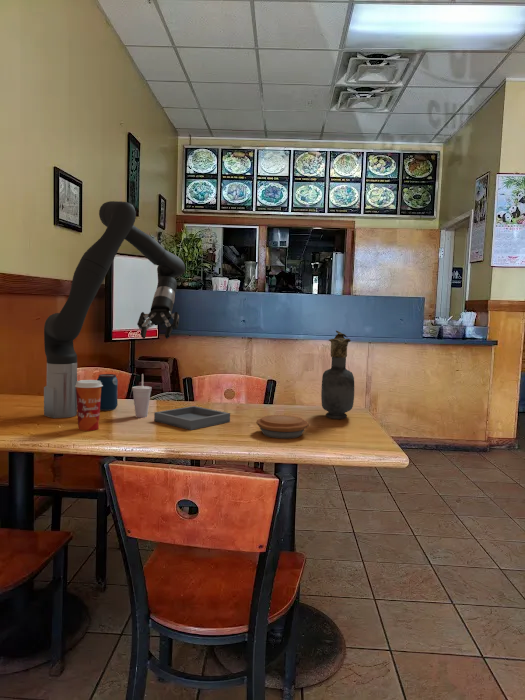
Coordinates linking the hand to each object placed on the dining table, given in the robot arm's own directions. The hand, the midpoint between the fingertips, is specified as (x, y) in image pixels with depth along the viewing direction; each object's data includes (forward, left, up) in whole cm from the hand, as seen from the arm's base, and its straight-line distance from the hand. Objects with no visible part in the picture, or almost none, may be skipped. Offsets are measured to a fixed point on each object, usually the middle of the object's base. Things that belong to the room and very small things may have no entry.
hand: (154, 337), depth 182 cm
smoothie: (-10, -6, -26) cm, 28 cm away
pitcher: (+40, -50, -26) cm, 69 cm away
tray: (-3, -23, -26) cm, 35 cm away
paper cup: (-32, -10, -26) cm, 42 cm away
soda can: (-11, +12, -26) cm, 30 cm away
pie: (+5, -53, -26) cm, 59 cm away
